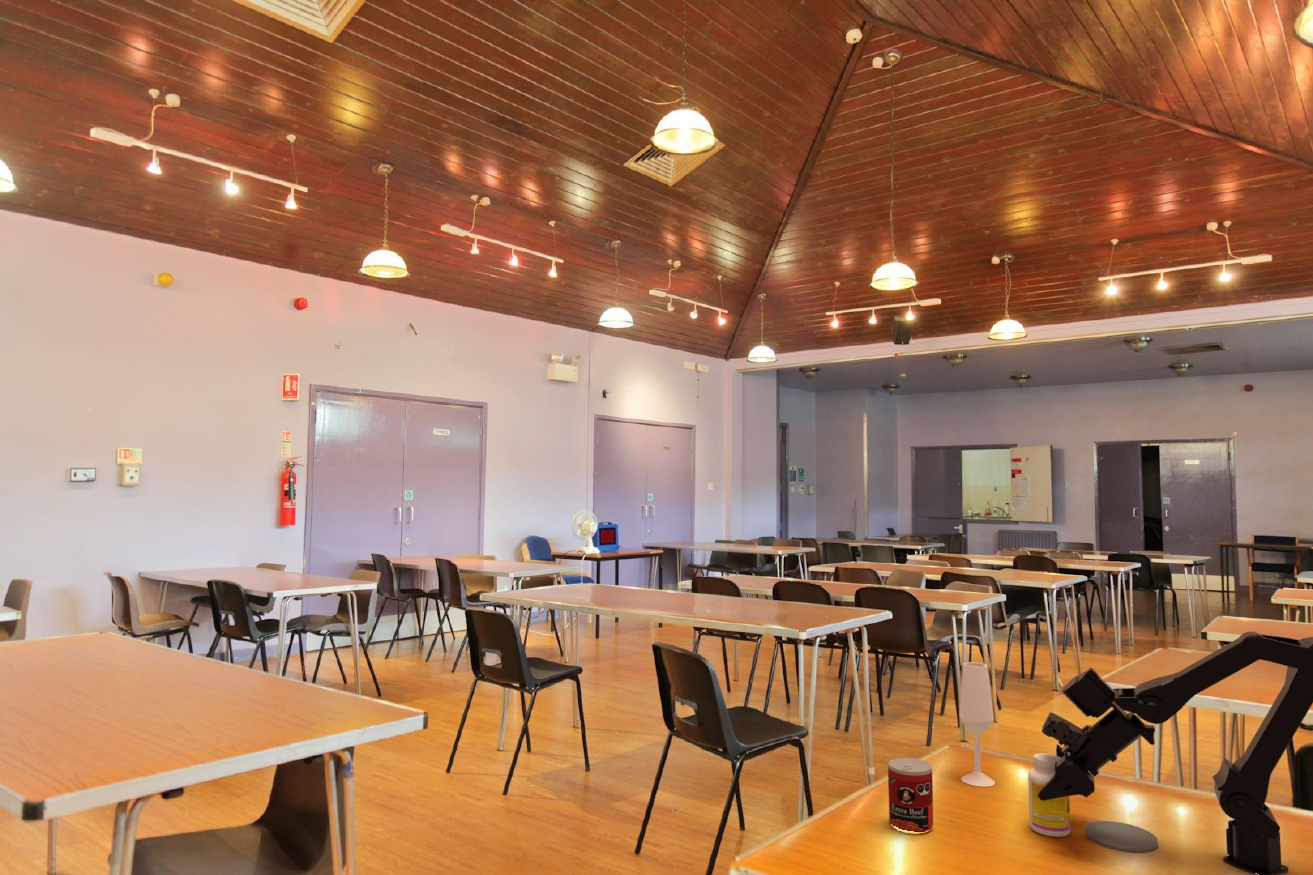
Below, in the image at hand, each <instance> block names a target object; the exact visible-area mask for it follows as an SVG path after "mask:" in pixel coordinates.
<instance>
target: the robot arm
mask: <svg viewBox="0 0 1313 875" xmlns="http://www.w3.org/2000/svg"><path fill="white" fill-rule="evenodd" d="M1260 660H1261V661H1265V662H1270V663H1274V664H1278V665H1282V666H1285V667H1287V668H1286V672H1285V673H1286V674H1285V680H1284V684H1283V686H1282V687H1281V689H1280V691H1279V692H1278V695H1277V696H1276V698H1275V700H1274V701H1273V703H1272V705H1271V707H1270V708H1269V710H1268V712H1267V713H1266V715H1265V717H1264V718H1263V720H1262V722H1261V724H1260V725H1259V726H1258V728H1257V730H1256V732H1255V734H1254V736H1253V737H1252V739H1251V741H1250V743H1249V744H1248V746H1247V748H1246V750H1245V751H1244V753H1243V754H1242V755H1241V756H1240V757H1239V758H1238V759H1237V760H1236V761H1234V762H1232V761H1230V760H1229V759H1227V758H1226V757H1224V758H1223V760H1222V763H1221V765H1220V768H1219V770H1218V771H1217V773H1215V774H1214V775H1213V776H1212V779H1213V781H1214V785H1213V792H1214V794H1215V796H1216V798H1217V800H1218V803H1219V805H1220V808H1221V810H1222V811H1223V813H1224V814H1225V815H1226V816H1227V817H1229V818H1230V820H1228V821H1227V828H1226V829H1225V835H1226V836H1225V837H1226V854H1227V855H1225V856H1222V861H1224V862H1226V863H1228V864H1231V865H1233V866H1235V867H1238V868H1240V869H1243V870H1245V871H1247V870H1248V872H1249V871H1250V873H1251V874H1254V873H1257V874H1259V875H1270V874H1271V875H1272V874H1273V875H1277V874H1281V873H1284V872H1288V871H1289V867H1288V866H1287V865H1285V864H1282V850H1281V849H1282V848H1281V832H1280V830H1281V826H1280V824H1279V822H1278V821H1277V819H1276V818H1275V816H1274V815H1273V812H1272V810H1271V809H1270V807H1268V805H1267V804H1265V803H1266V801H1267V798H1268V793H1269V792H1268V791H1269V788H1270V787H1269V786H1270V780H1271V776H1272V773H1273V772H1274V770H1275V768H1276V767H1277V765H1278V763H1279V761H1280V760H1281V759H1282V757H1283V755H1284V753H1285V751H1286V750H1287V748H1288V746H1289V745H1290V743H1291V741H1292V739H1293V738H1294V736H1295V734H1296V733H1297V731H1298V729H1299V727H1300V726H1301V724H1302V722H1303V721H1304V719H1305V718H1306V717H1307V714H1308V713H1309V711H1310V709H1311V708H1312V705H1313V636H1308V637H1304V638H1300V639H1296V638H1292V637H1284V636H1277V635H1270V634H1269V635H1268V634H1264V633H1259V632H1256V631H1246V632H1244V633H1241V634H1240V636H1239V637H1237V638H1236V639H1235V640H1233V641H1230V642H1229V643H1227V644H1225V645H1224V646H1222V647H1220V648H1219V649H1216V650H1215V651H1213V652H1211V653H1209V654H1208V655H1206V656H1204V657H1202V658H1201V659H1199V660H1197V661H1195V662H1193V663H1192V664H1190V665H1189V666H1187V667H1184V668H1183V669H1182V670H1179V671H1177V672H1175V673H1172V674H1168V675H1163V676H1159V677H1156V678H1152V679H1150V680H1147V681H1145V682H1144V681H1143V682H1142V683H1139V684H1138V685H1137V686H1136V687H1127V688H1125V687H1122V688H1117V687H1116V688H1112V687H1111V686H1110V685H1109V684H1108V683H1107V682H1106V681H1105V680H1103V678H1102V677H1101V676H1100V675H1099V673H1098V672H1097V671H1096V670H1095V669H1094V668H1093V667H1089V668H1088V669H1087V670H1085V671H1082V672H1081V673H1080V674H1079V675H1076V676H1074V677H1073V678H1071V679H1070V680H1069V681H1068V682H1067V683H1066V684H1065V685H1064V686H1063V688H1062V689H1061V694H1063V695H1064V696H1065V697H1066V698H1067V699H1068V700H1069V701H1070V702H1071V703H1072V704H1074V706H1075V707H1076V708H1077V709H1078V710H1079V711H1080V712H1081V713H1082V714H1083V715H1084V716H1085V717H1090V716H1091V717H1092V718H1096V719H1098V718H1100V717H1101V718H1100V719H1099V720H1098V721H1096V722H1095V723H1094V724H1092V725H1091V724H1089V725H1088V724H1086V725H1085V726H1083V727H1082V728H1081V727H1079V726H1077V725H1076V724H1075V723H1073V722H1071V721H1070V720H1067V719H1066V718H1063V717H1061V716H1060V715H1058V714H1056V713H1054V712H1049V713H1048V715H1047V716H1046V719H1045V721H1044V723H1043V725H1042V727H1041V733H1043V735H1045V736H1047V737H1048V738H1053V739H1054V740H1056V741H1058V742H1057V744H1056V746H1055V747H1056V748H1055V752H1056V753H1055V754H1056V756H1058V757H1060V758H1061V759H1060V760H1059V761H1058V762H1056V761H1055V774H1054V776H1053V777H1052V778H1051V779H1050V780H1049V782H1048V783H1047V784H1046V785H1045V786H1044V787H1043V789H1042V790H1041V791H1040V792H1039V794H1038V797H1039V798H1040V799H1041V800H1042V801H1044V800H1049V799H1054V798H1060V797H1065V796H1069V797H1071V796H1079V795H1080V796H1083V798H1088V797H1089V796H1091V795H1092V794H1093V793H1095V791H1096V790H1095V789H1096V788H1095V777H1096V776H1097V775H1099V774H1100V771H1099V770H1100V769H1101V768H1103V767H1104V766H1105V765H1107V764H1108V763H1109V762H1110V761H1111V762H1112V763H1114V762H1115V761H1117V760H1118V755H1119V754H1121V753H1122V752H1123V751H1124V750H1126V749H1127V748H1128V747H1129V746H1131V745H1132V744H1133V743H1135V742H1136V741H1137V740H1138V739H1139V738H1141V737H1142V738H1143V739H1144V740H1146V742H1148V744H1149V745H1151V746H1154V745H1155V732H1156V728H1155V726H1154V725H1160V724H1163V723H1165V722H1167V721H1169V719H1171V718H1172V717H1174V716H1175V715H1176V714H1177V713H1178V712H1179V711H1181V710H1182V709H1183V708H1184V706H1185V705H1186V704H1187V703H1188V702H1189V701H1190V700H1191V699H1192V698H1194V697H1195V696H1196V695H1198V694H1199V693H1201V692H1203V691H1205V690H1206V689H1209V688H1210V687H1212V686H1214V685H1215V684H1217V683H1219V682H1222V681H1223V680H1226V678H1229V677H1230V676H1232V675H1234V674H1235V673H1237V672H1240V671H1241V670H1243V669H1245V668H1247V667H1248V666H1251V665H1252V664H1254V663H1255V662H1258V661H1260ZM1111 708H1112V709H1111ZM1110 709H1111V710H1110ZM1108 710H1110V711H1108ZM1106 712H1107V713H1106ZM1127 712H1128V713H1127ZM1104 714H1105V715H1104ZM1103 715H1104V716H1103ZM1102 716H1103V717H1102ZM1142 720H1143V721H1145V722H1146V723H1150V724H1146V723H1144V722H1143V721H1142ZM1153 724H1154V725H1153Z"/></svg>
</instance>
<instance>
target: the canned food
mask: <svg viewBox="0 0 1313 875" xmlns="http://www.w3.org/2000/svg"><path fill="white" fill-rule="evenodd" d="M887 770H888V771H887V776H888V777H887V778H888V779H887V780H888V781H887V782H888V786H887V787H888V820H889V824H890V823H891V824H892V825H893V826H896V827H898V828H899V829H902V830H907V831H914V832H925V831H927V830H930V829H931V828H932V829H933V827H932V826H933V825H934V796H933V793H934V792H933V791H934V790H933V766H932V764H931V763H929V762H927V761H925V760H922V759H919V758H913V757H912V758H911V757H898V758H893V759H891V760H889V761H888V767H887ZM891 824H890V825H891ZM932 829H931V830H932Z"/></svg>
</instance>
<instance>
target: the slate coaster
mask: <svg viewBox="0 0 1313 875" xmlns="http://www.w3.org/2000/svg"><path fill="white" fill-rule="evenodd" d="M1085 834H1086V836H1087V838H1089V839H1090V840H1091V841H1093V842H1094V843H1096V844H1099V845H1102V846H1103V847H1106V848H1110V849H1112V850H1116V851H1117V850H1118V851H1121V852H1122V851H1123V852H1128V853H1150V852H1153V851H1155V850H1158V849H1157V848H1158V847H1159V840H1158V838H1157V836H1156V835H1155V834H1153V833H1152V832H1151V831H1149V830H1147V829H1144V828H1142V827H1140V826H1137V825H1133V824H1129V823H1125V822H1119V821H1112V820H1111V821H1110V820H1098V821H1092V822H1089V823H1088V824H1087V825H1086V826H1085Z"/></svg>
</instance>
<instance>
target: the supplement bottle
mask: <svg viewBox="0 0 1313 875" xmlns="http://www.w3.org/2000/svg"><path fill="white" fill-rule="evenodd" d="M1060 759H1061V758H1060V757H1058V756H1056V755H1055V754H1051V753H1043V752H1042V753H1035V754H1034V755H1033V763H1034V767H1033V768H1032V769H1030V770H1029V771H1028V774H1027V777H1028V783H1027V784H1028V819H1029V826H1030V829H1031V830H1033V831H1034V832H1035V833H1038V834H1039V835H1043V836H1047V837H1053V838H1054V837H1055V838H1061V837H1067V836H1068V835H1069V834H1070V833H1071V810H1070V809H1071V808H1070V805H1071V804H1070V796H1065V797H1060V798H1054V799H1049V800H1044V801H1042V800H1041V799H1040V798H1039V797H1038V794H1039V792H1040V791H1041V790H1042V789H1043V787H1044V786H1045V785H1046V784H1047V783H1048V782H1049V780H1050V779H1051V778H1052V777H1053V776H1054V774H1055V761H1056V762H1058V761H1059V760H1060Z"/></svg>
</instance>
